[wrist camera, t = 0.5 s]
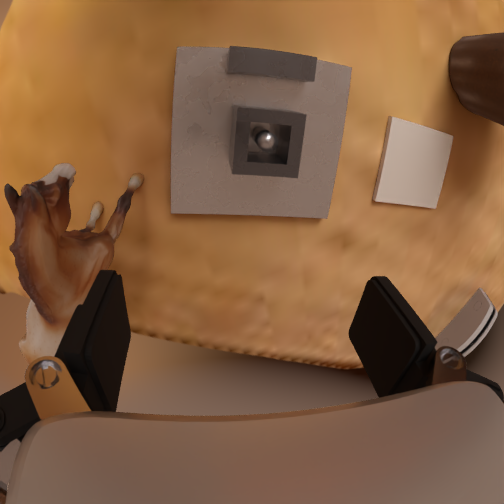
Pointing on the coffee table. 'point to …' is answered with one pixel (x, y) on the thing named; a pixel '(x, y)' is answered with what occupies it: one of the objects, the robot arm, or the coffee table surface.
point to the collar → (261, 162)
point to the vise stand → (254, 130)
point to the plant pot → (479, 74)
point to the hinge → (469, 324)
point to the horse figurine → (58, 254)
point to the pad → (412, 164)
